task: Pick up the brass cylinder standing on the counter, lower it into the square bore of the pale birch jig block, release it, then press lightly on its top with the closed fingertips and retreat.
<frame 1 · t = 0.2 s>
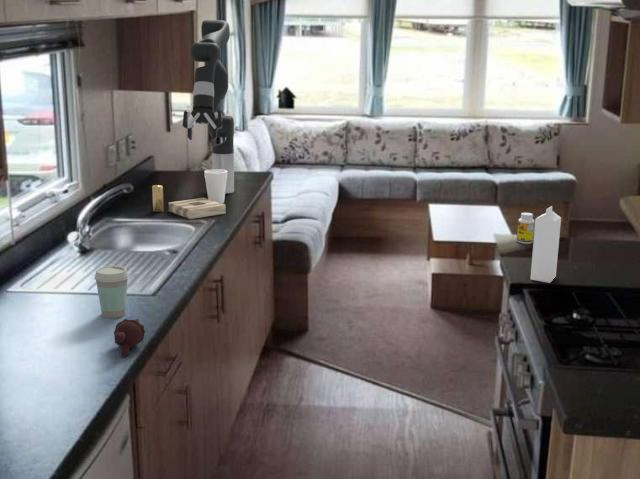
hand: (202, 139, 306), 31 cm above the counter, tool tilted 20°, fingers open, 8 cm apart
supplement bottle: (524, 242, 294), on the counter
coffee cup: (113, 314, 218), on the counter
jig: (197, 212, 330), on the counter
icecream: (129, 347, 197), on the counter
milk: (542, 279, 253), on the counter
brass cylinder: (158, 210, 331), on the counter
foam cup: (216, 202, 348), on the counter
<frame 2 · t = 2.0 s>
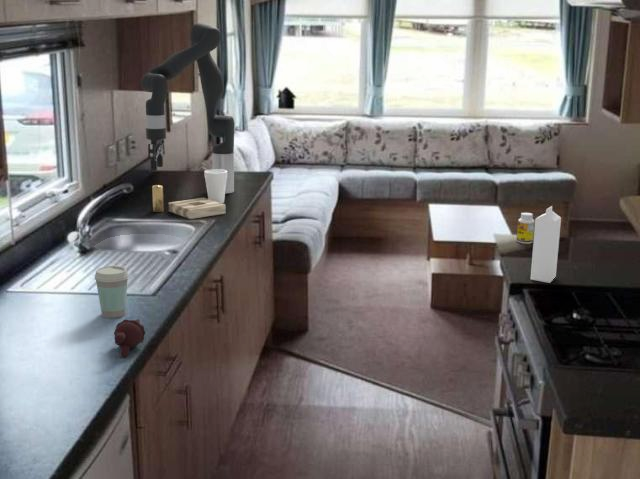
hand: (157, 168, 327), 17 cm above the counter, tool pointing down, fingers open, 8 cm apart
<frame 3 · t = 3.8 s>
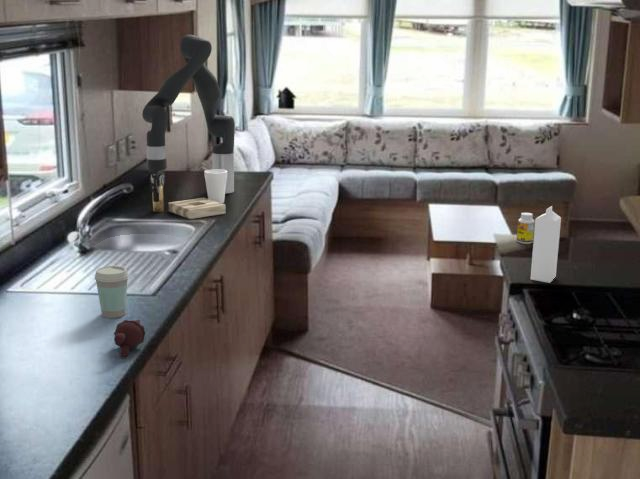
hand: (158, 200, 330), 4 cm above the counter, tool pointing down, fingers closed on brass cylinder, 4 cm apart
brass cylinder: (158, 210, 331), on the counter, touching gripper
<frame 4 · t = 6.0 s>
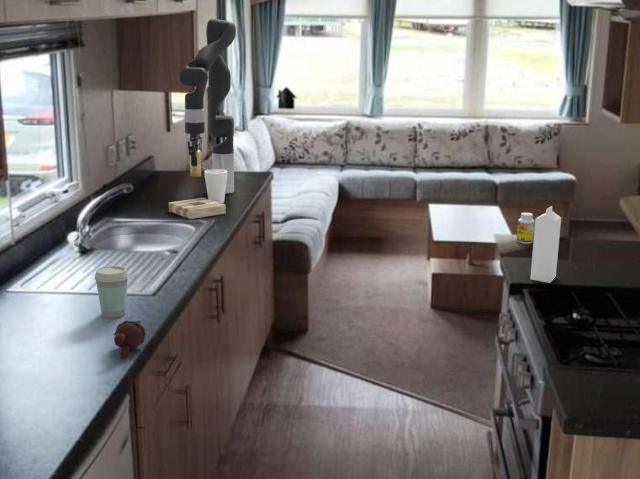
hand: (195, 164, 325), 19 cm above the counter, tool pointing down, fingers closed on brass cylinder, 4 cm apart
brass cylinder: (195, 175, 326), point 15 cm above the counter, touching gripper
when the fingers open (6 cm above the counter, at t = 8.2 s): brass cylinder drops 1 cm, resting in jig.
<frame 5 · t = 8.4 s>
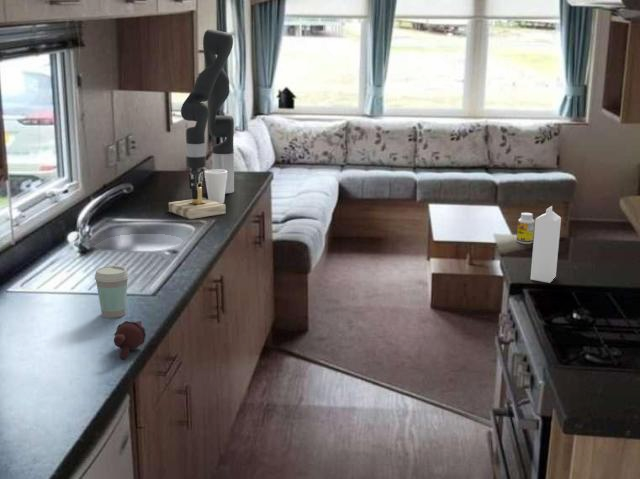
hand: (196, 197, 328), 6 cm above the counter, tool pointing down, fingers open, 6 cm apart
brass cylinder: (197, 212, 330), resting in jig
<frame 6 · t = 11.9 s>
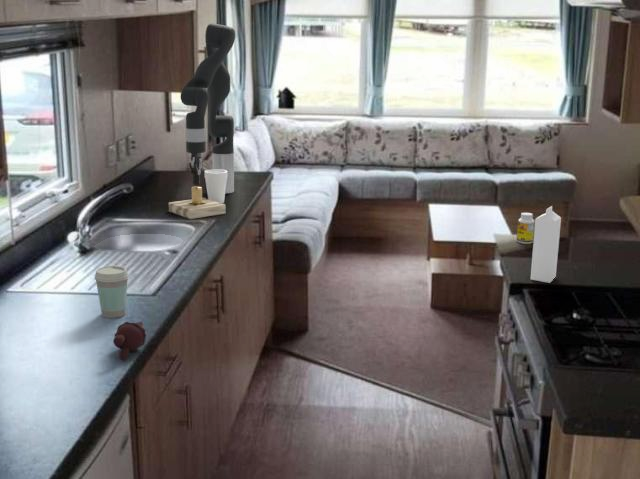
hand: (196, 184, 327), 11 cm above the counter, tool pointing down, fingers closed
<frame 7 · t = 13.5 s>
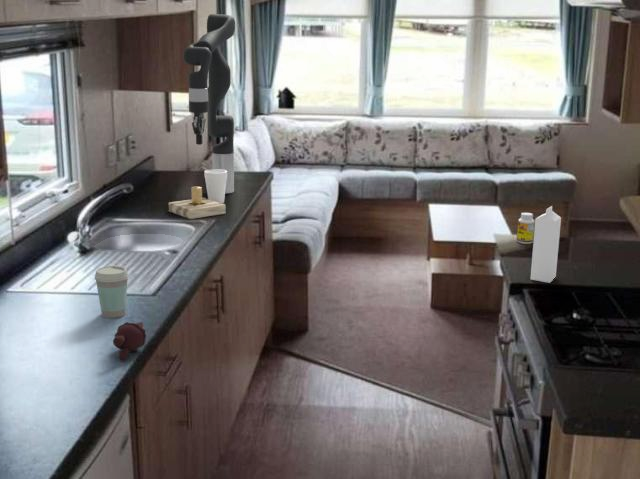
hand: (199, 144, 330), 26 cm above the counter, tool pointing down, fingers closed
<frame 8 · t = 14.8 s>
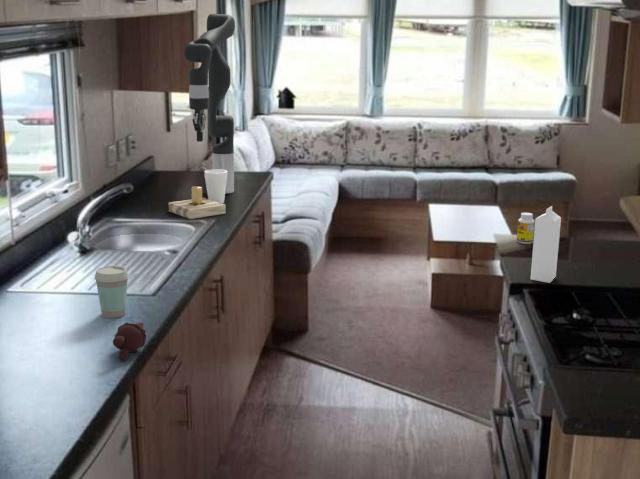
hand: (199, 141, 329), 27 cm above the counter, tool pointing down, fingers closed
at the end: brass cylinder 0.1 cm off-centre on the jig, point 0.0 cm above the jig's base; brass cylinder tilted 0°; the gripper is holding nothing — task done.
